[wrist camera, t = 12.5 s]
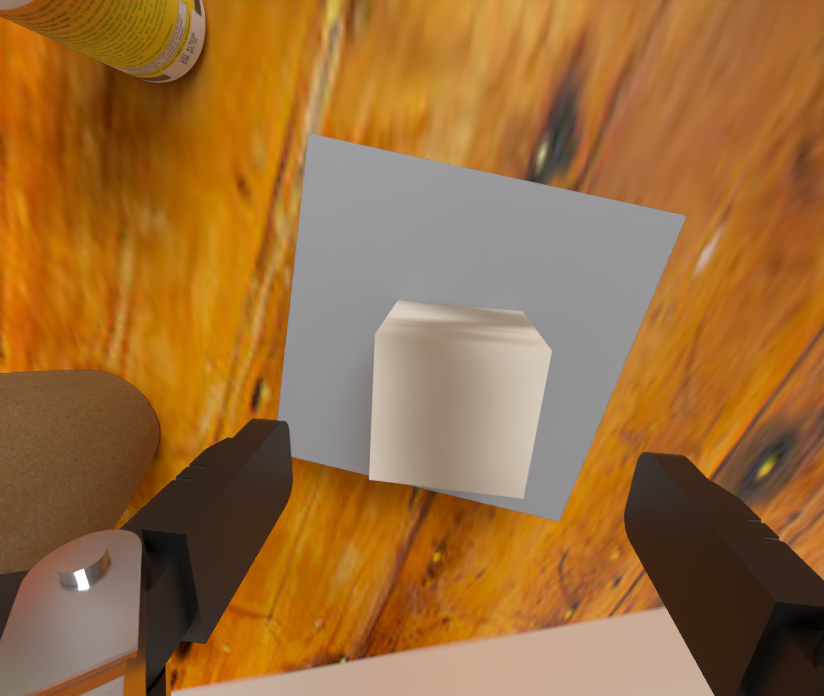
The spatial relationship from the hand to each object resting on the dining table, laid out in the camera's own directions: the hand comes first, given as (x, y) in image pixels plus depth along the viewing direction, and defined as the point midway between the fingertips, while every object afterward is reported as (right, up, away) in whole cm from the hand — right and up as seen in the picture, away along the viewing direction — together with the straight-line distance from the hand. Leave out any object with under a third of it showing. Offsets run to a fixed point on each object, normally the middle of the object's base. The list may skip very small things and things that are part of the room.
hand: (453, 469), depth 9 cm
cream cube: (+1, +2, +8) cm, 8 cm away
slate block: (+1, +5, +13) cm, 14 cm away
